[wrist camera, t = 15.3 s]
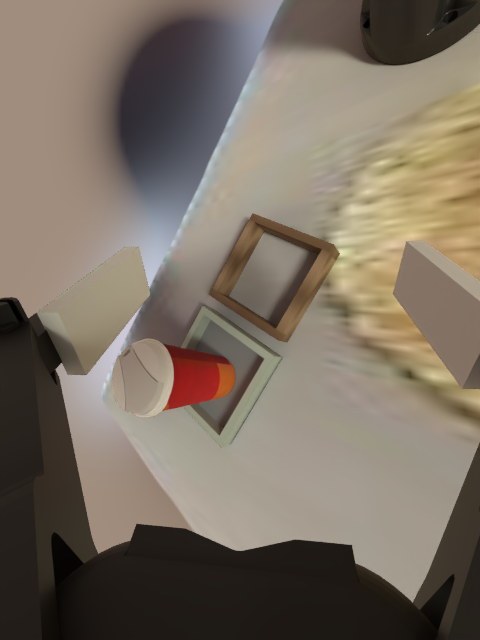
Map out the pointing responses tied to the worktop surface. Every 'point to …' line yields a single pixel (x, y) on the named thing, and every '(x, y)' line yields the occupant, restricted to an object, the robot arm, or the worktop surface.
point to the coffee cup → (168, 377)
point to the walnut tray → (305, 291)
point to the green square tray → (250, 369)
